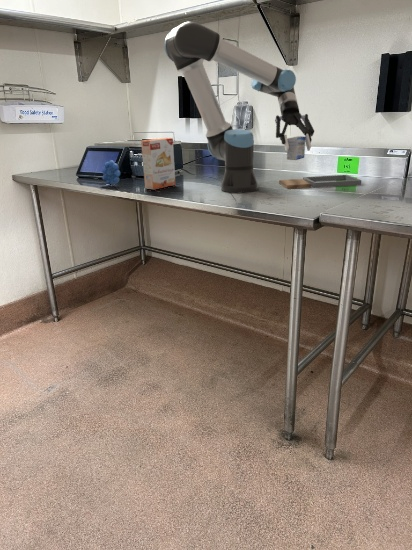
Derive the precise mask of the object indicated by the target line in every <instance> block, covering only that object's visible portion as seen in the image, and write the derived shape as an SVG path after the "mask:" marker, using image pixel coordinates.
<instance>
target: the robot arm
mask: <svg viewBox="0 0 412 550" xmlns="http://www.w3.org/2000/svg"><path fill="white" fill-rule="evenodd" d="M164 51H165V54H166V56H167V57H168V59H170V61H172V62H173V63H174V65H175V68H176V70H177V72H179V73H181V74H182V75H183V77H184V79H185V81H186V83H187V87H188V89H189V91H190V93H191V95H192V98H193V100H194V102H195V104H196V108H197V110H198V112H199V114H200V116H201V119H202V121H203V123H204V126H205V128H206V130H207V131H206V134H205V137H206V139H207V150H208V152H209V153H210V155H211V156H212V157H213V158H215V159H217V160H220V161H224V174H223V179H222V182H221V189H220V190H221V191H222V190H223V191H222V192H225V191H226V192H225V193H232V192H242V193H250V192H255V191H257V190H258V189H259V188H258V186H259V185H258V180H257V177H256V174H255V170H254V152H255V151H254V150H255V149H254V148H255V147H254V145H255V144H254V143H255V139H254V134H253V132H252V131H250V130H247V129H240V128H239V129H236V128H235V129H233V126H232V124H231V123H230V122H228V121H226V118H225V116H224V113H223V112H222V111H223V110H222V108H221V107H220V106H221V105H220V104H219V101H218V99H217V96H216V94H215V92H214V88H213V85H212V84H211V81H210V79H209V75H208V73H207V71H206V68H205V66H204V61H207V62H211V61H214V62H217V63H218V64H221V65H223V66H224V67H227V68H228V69H231V70H233V71H235V72H237V73H239V74H242V75H243V76H246V77H248V78H250V79H251V85H250V86H251V88H252V90H254V91H257V92H260V93H264V94H267V95H270V96H273V97H276V98H277V101H278V104H279V109H280V110H279V111H280V116H279V114H278V115H276V116H275V120H274V122H275V125H276V126H275V138H276V139H278V138H279V141H281V144H282V145H283V146H284V150H285V152H286V153H287V152H288V150H289V144H288V140H287V139H288V137H287V134H286V132H287V128H288V126H295V127H296V128H298V129H299V130H300V132H302V134H303V135H304V137H305V147H306V150H307V151H308V152H309V151H311V148H312V145H311V143H312V137H313V136H314V133H315V129H314V127H313V125H312V123H311V122H310V120H309V115H308V113H306V114H303V115H302V114H301V112H300V108H299V103H298V99H297V96H296V91H295V85H296V82H297V77H296V74H295V72H294V71H293V70H290V69H283V68H280V67H278V66H276V65H273V64H272V63H270V62H268V61H266V60H264V59H263V58H261V57H258V56H256V55H254V54H252V53H250V52H248V51H246V50H245V49H242V48H241V47H239V46H237V45H235V44H233V43H230V42H229V41H227V40H225V39H223V38H222V37H221V34H220V33H218V32H216V31H214V30H213V29H210V28H208V27H206V26H205V25H204V24H203V25H202V24H200V23H198V22H195V21H186V22H182V23H181V24H179V25H178V26H176V27H174V28H172V29H171V30H170V31H169V32H168V34H167V35H166V37H165V40H164ZM281 121H282V122H283V123H284V125H283V128H282V132H281Z"/></svg>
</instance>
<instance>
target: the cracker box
mask: <svg viewBox="0 0 412 550" xmlns="http://www.w3.org/2000/svg"><path fill="white" fill-rule="evenodd" d="M140 141H141V142H140V143H141V154H142V155H141V156H142V166H143V178H144V180H143V181H144V189H145V188H147V189H159V188H163V187H167V186H172V185H175V186H176V173H175V171H176V170H175V169H176V168H175V154H174V139H173V137H172V138H171V137H162V138H152V139H144V140H140Z"/></svg>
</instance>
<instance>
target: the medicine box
mask: <svg viewBox="0 0 412 550" xmlns="http://www.w3.org/2000/svg"><path fill="white" fill-rule="evenodd" d="M287 140H288V144H289V150H288V152H286V160H287V161H288V160H289V161H300V160H301V159H304V158H305V155H306V154H305V150H306V142H305V135H304V136H301V135H300V136H293V137H287Z"/></svg>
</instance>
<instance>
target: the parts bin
mask: <svg viewBox="0 0 412 550" xmlns="http://www.w3.org/2000/svg"><path fill="white" fill-rule="evenodd" d="M302 179H303V180H305V181H306V182H308V183H310V184H311V188H313V189H315V188H316V189H317V188H334V187H335V188H336V187H348V186H349V187H351V186H361V185H362V179H359V178H357V177H354V176H351V175H349V174H337V175H336V174H335V175H317V176H316V175H315V176H302Z"/></svg>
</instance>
